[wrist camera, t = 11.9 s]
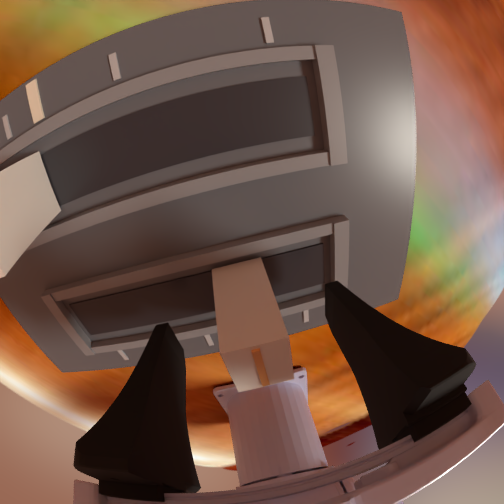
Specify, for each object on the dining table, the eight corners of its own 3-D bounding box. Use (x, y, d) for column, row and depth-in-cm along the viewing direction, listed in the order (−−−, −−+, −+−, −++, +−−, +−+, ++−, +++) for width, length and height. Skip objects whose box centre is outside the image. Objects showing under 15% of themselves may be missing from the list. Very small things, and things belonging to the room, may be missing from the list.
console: (389, 288, 18) (402, 304, 17) (65, 360, 17) (60, 378, 16) (387, 15, 8) (408, 10, 7) (-49, 155, 7) (-67, 165, 6)
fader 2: (269, 302, 15) (294, 380, 11) (226, 312, 15) (239, 394, 10) (260, 257, 13) (289, 339, 9) (211, 269, 13) (220, 355, 9)
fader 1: (61, 210, 10) (4, 277, 6) (28, 225, 10) (-27, 289, 6) (39, 151, 8) (-37, 194, 4) (6, 171, 8) (-62, 219, 4)
